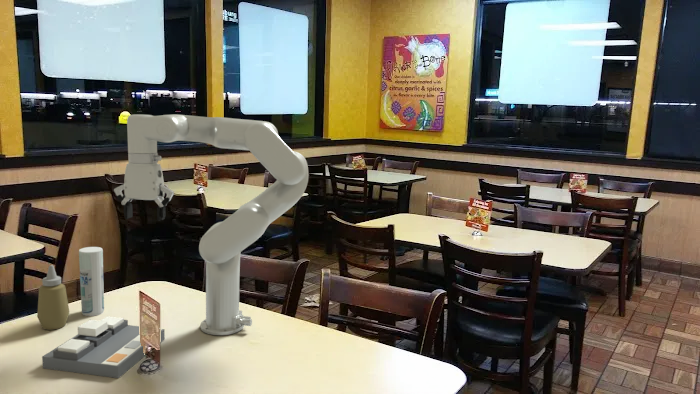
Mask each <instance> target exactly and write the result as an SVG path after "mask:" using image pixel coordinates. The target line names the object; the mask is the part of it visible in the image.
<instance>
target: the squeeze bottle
mask: <svg viewBox="0 0 700 394" xmlns="http://www.w3.org/2000/svg"><path fill="white" fill-rule="evenodd" d="M47 269H48V270H47V273H46V277H43V278H42V280H41V281H42V285H41V286H40V287H39V288H38V298H37V299H38V301H37V315H36V317H37V319H38V321H39V323H40V325H41V327H42V329H43V330H49V331H50V330H51V331H52V330H57V329H61V328H63V327H64V326H66V325H67V321H68V318H69V314H70V307H69V302H68V295H67V289H66V285H65V284H64V283H62V277H61V276H60V275H57V272H56V268H55V266H54V265H53V264H51V265H48V268H47Z"/></svg>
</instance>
